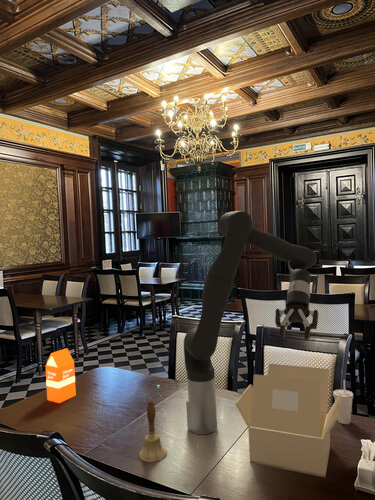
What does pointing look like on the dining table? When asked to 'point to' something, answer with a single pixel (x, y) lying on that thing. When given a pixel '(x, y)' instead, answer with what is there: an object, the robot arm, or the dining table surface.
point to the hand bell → (152, 440)
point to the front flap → (286, 405)
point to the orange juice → (60, 376)
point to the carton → (289, 444)
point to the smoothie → (344, 404)
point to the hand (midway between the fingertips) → (294, 338)
